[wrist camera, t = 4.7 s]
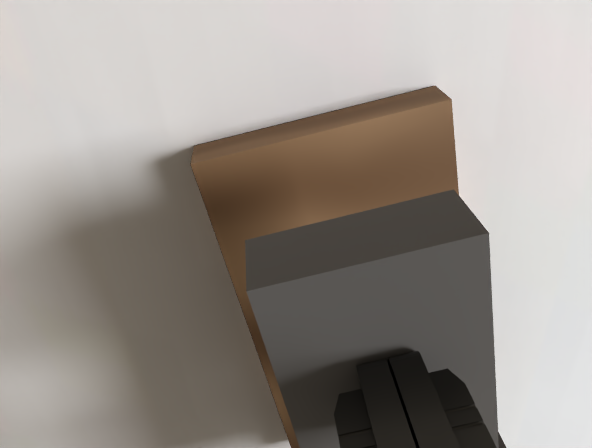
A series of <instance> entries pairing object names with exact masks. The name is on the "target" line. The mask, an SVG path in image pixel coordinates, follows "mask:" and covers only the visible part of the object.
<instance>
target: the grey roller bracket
mask: <svg viewBox="0 0 592 448" xmlns="http://www.w3.org/2000/svg"><path fill="white" fill-rule="evenodd" d="M245 259H246V292H247V295H248V298H249V301H250V304H251V307H252V310H253V312H254V315H255V318H256V321H257V324H258V327H259V330H260V333H261V336H262V339H263V342H264V344H265V347H266V350H267V353H268V356H269V359H270V362H271V365H272V368H273V371H274V374H275V377H276V379H277V382H278V385H279V388H280V391H281V394H282V397H283V400H284V403H285V406H286V409H287V412H288V414H289V417H290V420H291V423H292V426H293V429H294V432H295V435H296V438H297V441H298V444H299V447H300V448H340V444H339V438H338V434H337V428H336V423H335V418H334V411H335V408H336V404H337V400H338V396H339V394H341V393H345V392H349V391H354V390H358V389H361V388H360V383H359V379H358V374H357V370H356V365H360V364H364V363H369V362H373V361H377V360H381V359H386V360H387V363H388V358H389V357H394V356H398V355H402V354H406V353H411V352H415V351H419V352H420V354H421V356H422V359H423V361H424V363H425V366H426V368H427V370H428V373H430V372H434V371H439V370H443V369H447V368H448V369H449V370H450V371H451V372H452V373H454V374H455V375H456V376H457V377H458V378H459V379H461V380H462V381H463V382H464V383H465V384H466V386H467V388H468V390H469V392H470V394H471V396H472V398H473V400H474V403H475V406H476V407H477V409H478V411H479V413H480V415H481V417H482V419H483V422H484V424H485V425H486V427H487V429H488V431H489V433H490V435H491V437H492V439H493V441H494V443H495V445H496V447H497V448H506V446H505V444H504V442H503V440H502V438H501V436H500V434H499V432H498V422H497V400H496V378H495V356H494V334H493V312H492V290H491V269H490V247H489V233H488V231H487V230H486V229H485V228H484V226H483V225H482V224H481V223H480V221H479V220H478V219H477V218H476V216H475V215H474V214H473V213H472V211H471V210H470V209H469V208H468V206H467V205H466V204H465V203H464V201H463V200H462V199H461V198H460V196H459V195H458V194H457V193H456V191H455V190H454V189H453V190H449V191H444V192H440V193H436V194H432V195H428V196H424V197H420V198H416V199H412V200H408V201H403V202H399V203H395V204H391V205H387V206H383V207H379V208H375V209H371V210H367V211H362V212H358V213H354V214H350V215H346V216H342V217H338V218H334V219H330V220H326V221H321V222H317V223H313V224H309V225H305V226H301V227H297V228H293V229H289V230H285V231H280V232H276V233H272V234H268V235H264V236H260V237H256V238H252V239H248V240H245ZM388 366H389V364H388Z"/></svg>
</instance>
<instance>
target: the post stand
mask: <svg viewBox="0 0 592 448" xmlns="http://www.w3.org/2000/svg"><path fill="white" fill-rule="evenodd" d="M191 167H192V170H193V173H194V176H195V179H196V181H197V184H198V187H199V190H200V193H201V195H202V198H203V201H204V204H205V207H206V209H207V212H208V215H209V218H210V221H211V223H212V226H213V229H214V232H215V235H216V238H217V240H218V243H219V246H220V249H221V252H222V254H223V257H224V260H225V263H226V266H227V268H228V271H229V274H230V277H231V280H232V282H233V285H234V288H235V291H236V294H237V297H238V299H239V302H240V305H241V308H242V311H243V313H244V316H245V319H246V322H247V325H248V327H249V330H250V333H251V336H252V339H253V341H254V344H255V347H256V350H257V353H258V356H259V358H260V361H261V364H262V367H263V370H264V372H265V375H266V378H267V381H268V384H269V386H270V389H271V392H272V395H273V398H274V400H275V403H276V406H277V409H278V412H279V415H280V417H281V420H282V423H283V426H284V429H285V431H286V434H287V437H288V440H289V443H290V445H291V448H300V447H299V444H298V441H297V438H296V435H295V432H294V429H293V426H292V423H291V420H290V417H289V414H288V412H287V409H286V406H285V403H284V400H283V397H282V394H281V391H280V388H279V385H278V382H277V379H276V377H275V374H274V371H273V368H272V365H271V362H270V359H269V356H268V353H267V350H266V347H265V344H264V342H263V339H262V336H261V333H260V330H259V327H258V324H257V321H256V318H255V315H254V312H253V310H252V307H251V304H250V301H249V298H248V295H247V292H246V259H245V240H248V239H252V238H256V237H260V236H264V235H268V234H272V233H276V232H280V231H285V230H289V229H293V228H297V227H301V226H305V225H309V224H313V223H317V222H321V221H326V220H330V219H334V218H338V217H342V216H346V215H350V214H354V213H358V212H362V211H367V210H371V209H375V208H379V207H383V206H387V205H391V204H395V203H399V202H403V201H408V200H412V199H416V198H420V197H424V196H428V195H432V194H436V193H440V192H444V191H449V190H453V189H454V190H455V191H456V193H457V194H458V195H459V191H458V178H457V165H456V152H455V139H454V126H453V113H452V100H451V99H450V98H449V97H448V96H447V95H446V94H445V93H443V92H442V91H441V90H440V89H439V88H437V87H436V86H432V87H428V88H424V89H420V90H416V91H412V92H408V93H404V94H400V95H396V96H392V97H388V98H384V99H380V100H376V101H372V102H368V103H364V104H360V105H356V106H352V107H348V108H344V109H340V110H336V111H332V112H328V113H324V114H320V115H316V116H312V117H308V118H304V119H300V120H296V121H292V122H288V123H284V124H280V125H276V126H272V127H268V128H264V129H260V130H256V131H252V132H248V133H244V134H240V135H236V136H232V137H228V138H224V139H220V140H216V141H212V142H208V143H204V144H200V145H196V146H194V148H193V153H192V159H191Z"/></svg>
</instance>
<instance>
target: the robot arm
mask: <svg viewBox="0 0 592 448" xmlns="http://www.w3.org/2000/svg"><path fill="white" fill-rule="evenodd" d="M388 364H389V366H388ZM356 370H357V374H358V379H359V383H360V388H361V389H358V390H354V391H349V392H345V393H341V394H339V396H338V400H337V404H336V408H335V411H334V418H335V423H336V428H337V434H338V438H339V444H340V448H497V447H496V445H495V443H494V441H493V439H492V437H491V435H490V433H489V431H488V429H487V427H486V425H485V424H484V422H483V419H482V417H481V415H480V413H479V411H478V409H477V407H476V406H475V403H474V400H473V398H472V396H471V394H470V392H469V390H468V388H467V386H466V384H465V383H464V382H463V381H462V380H461V379H459V378H458V377H457V376H456V375H455V374H454V373H452V372H451V371H450V370H449V369H448V368H447V369H443V370H439V371H434V372H430V373H428V370H427V368H426V366H425V363H424V361H423V359H422V356H421V354H420V352H419V351H415V352H411V353H406V354H402V355H398V356H394V357H389V358H388V363H387V360H386V359H381V360H377V361H373V362H369V363H364V364H360V365H356Z"/></svg>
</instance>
